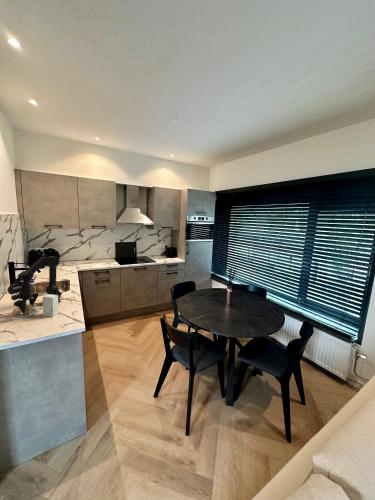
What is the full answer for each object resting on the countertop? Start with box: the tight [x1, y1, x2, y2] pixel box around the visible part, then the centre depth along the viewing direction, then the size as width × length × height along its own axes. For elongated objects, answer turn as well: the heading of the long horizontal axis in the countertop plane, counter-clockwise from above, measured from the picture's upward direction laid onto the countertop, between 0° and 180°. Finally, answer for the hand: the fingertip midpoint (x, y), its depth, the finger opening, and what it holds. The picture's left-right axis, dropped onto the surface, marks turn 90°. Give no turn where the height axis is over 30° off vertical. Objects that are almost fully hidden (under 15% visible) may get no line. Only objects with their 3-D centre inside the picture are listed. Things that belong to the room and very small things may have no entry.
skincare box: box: [42, 294, 59, 318], centre depth 154 cm, size 8×6×15 cm
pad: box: [16, 310, 39, 319], centre depth 154 cm, size 9×9×1 cm
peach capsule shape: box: [12, 307, 21, 317], centre depth 153 cm, size 4×4×4 cm
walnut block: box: [23, 304, 33, 315], centre depth 153 cm, size 4×4×6 cm
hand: (27, 310), depth 153 cm, fingers open, 9 cm apart
